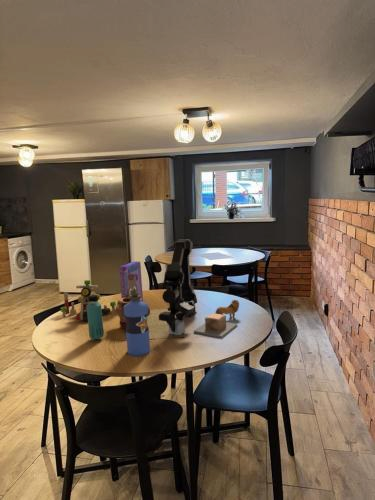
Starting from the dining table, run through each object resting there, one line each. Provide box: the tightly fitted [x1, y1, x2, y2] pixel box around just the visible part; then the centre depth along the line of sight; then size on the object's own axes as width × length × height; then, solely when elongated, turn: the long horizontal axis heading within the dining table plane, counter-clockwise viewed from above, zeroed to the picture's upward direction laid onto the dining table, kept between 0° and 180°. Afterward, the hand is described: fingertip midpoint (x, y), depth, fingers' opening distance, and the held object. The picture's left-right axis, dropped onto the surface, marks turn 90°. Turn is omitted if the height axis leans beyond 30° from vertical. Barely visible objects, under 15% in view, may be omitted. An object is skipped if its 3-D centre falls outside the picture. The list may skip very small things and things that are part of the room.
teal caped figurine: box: [87, 295, 105, 340], centre depth 149 cm, size 6×7×20 cm
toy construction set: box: [60, 279, 117, 323], centre depth 185 cm, size 27×22×21 cm
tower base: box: [193, 312, 238, 339], centre depth 156 cm, size 14×16×6 cm
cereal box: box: [118, 261, 144, 301], centre depth 202 cm, size 17×5×24 cm, turn 162°
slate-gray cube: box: [168, 320, 186, 336], centre depth 154 cm, size 5×5×5 cm
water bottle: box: [124, 290, 151, 357], centre depth 135 cm, size 9×9×25 cm
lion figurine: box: [214, 299, 240, 320], centre depth 168 cm, size 15×5×9 cm, turn 116°
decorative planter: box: [114, 297, 151, 331], centre depth 163 cm, size 20×12×14 cm, turn 66°
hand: (177, 330), depth 154 cm, fingers closed on slate-gray cube, 5 cm apart
